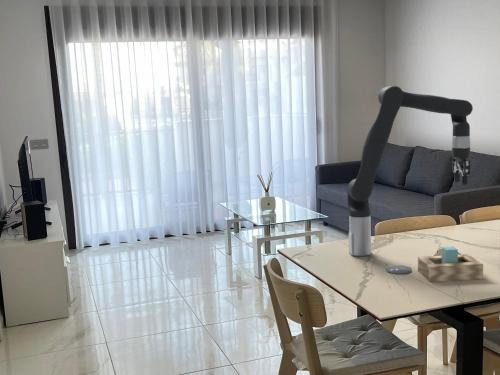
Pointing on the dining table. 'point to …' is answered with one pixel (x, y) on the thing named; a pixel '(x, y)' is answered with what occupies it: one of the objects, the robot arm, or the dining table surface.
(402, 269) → the coaster
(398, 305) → the dining table surface
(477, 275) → the box
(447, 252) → the block
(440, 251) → the rock
